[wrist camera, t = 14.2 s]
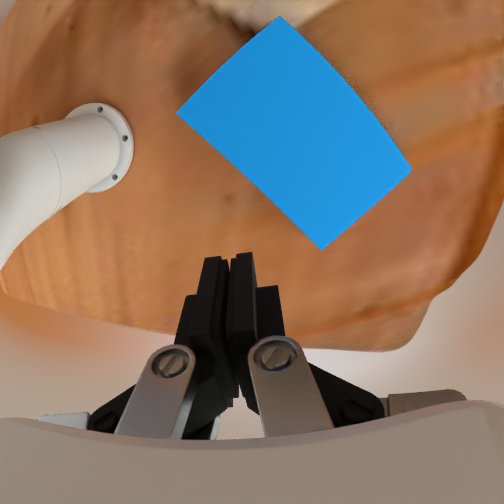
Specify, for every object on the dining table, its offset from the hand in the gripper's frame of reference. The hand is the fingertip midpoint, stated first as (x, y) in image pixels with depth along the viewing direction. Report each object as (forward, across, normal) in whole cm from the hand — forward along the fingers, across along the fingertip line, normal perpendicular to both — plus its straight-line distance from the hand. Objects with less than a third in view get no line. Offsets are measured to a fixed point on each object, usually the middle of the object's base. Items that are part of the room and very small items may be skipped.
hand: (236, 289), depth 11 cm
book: (+29, -8, -2) cm, 30 cm away
